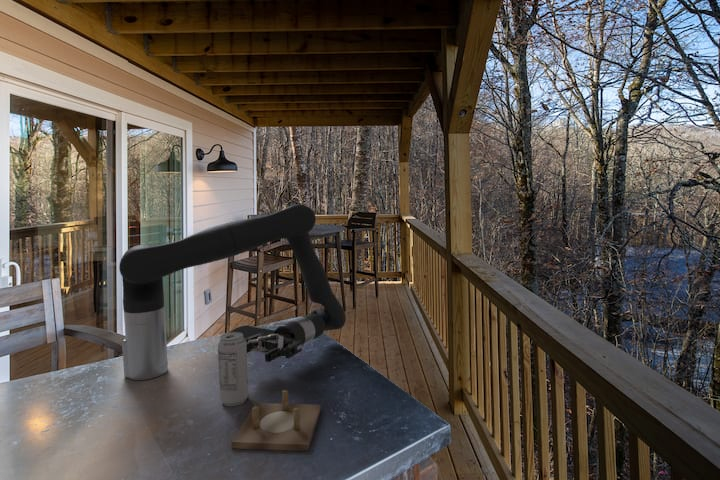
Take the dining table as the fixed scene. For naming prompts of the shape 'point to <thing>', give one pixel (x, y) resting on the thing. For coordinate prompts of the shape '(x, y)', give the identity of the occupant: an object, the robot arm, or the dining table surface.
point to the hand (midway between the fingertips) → (252, 354)
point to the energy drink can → (233, 368)
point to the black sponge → (252, 331)
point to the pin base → (278, 426)
